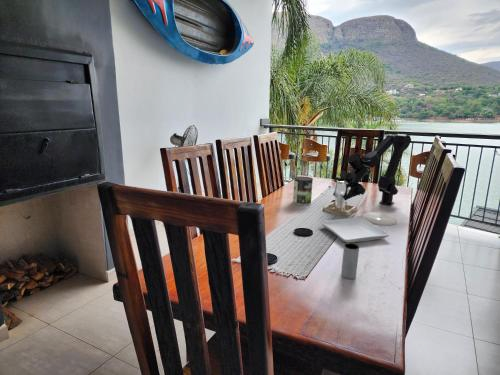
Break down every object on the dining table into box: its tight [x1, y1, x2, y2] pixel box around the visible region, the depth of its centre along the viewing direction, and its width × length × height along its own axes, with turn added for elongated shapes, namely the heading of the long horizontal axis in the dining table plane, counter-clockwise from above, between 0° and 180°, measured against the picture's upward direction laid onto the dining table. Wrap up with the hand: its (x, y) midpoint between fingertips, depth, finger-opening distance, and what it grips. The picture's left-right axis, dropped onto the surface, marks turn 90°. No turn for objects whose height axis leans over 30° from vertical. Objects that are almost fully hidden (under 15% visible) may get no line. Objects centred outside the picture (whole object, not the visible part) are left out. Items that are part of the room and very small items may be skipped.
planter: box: [340, 242, 360, 280], centre depth 99 cm, size 4×4×10 cm
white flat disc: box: [361, 212, 398, 226], centre depth 152 cm, size 16×16×1 cm
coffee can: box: [292, 176, 314, 206], centre depth 175 cm, size 10×10×14 cm
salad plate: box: [320, 216, 391, 243], centre depth 134 cm, size 21×21×3 cm
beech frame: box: [322, 201, 358, 217], centre depth 164 cm, size 13×13×2 cm
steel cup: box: [333, 180, 350, 211], centre depth 162 cm, size 7×7×15 cm
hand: (338, 197), depth 162 cm, fingers open, 8 cm apart
